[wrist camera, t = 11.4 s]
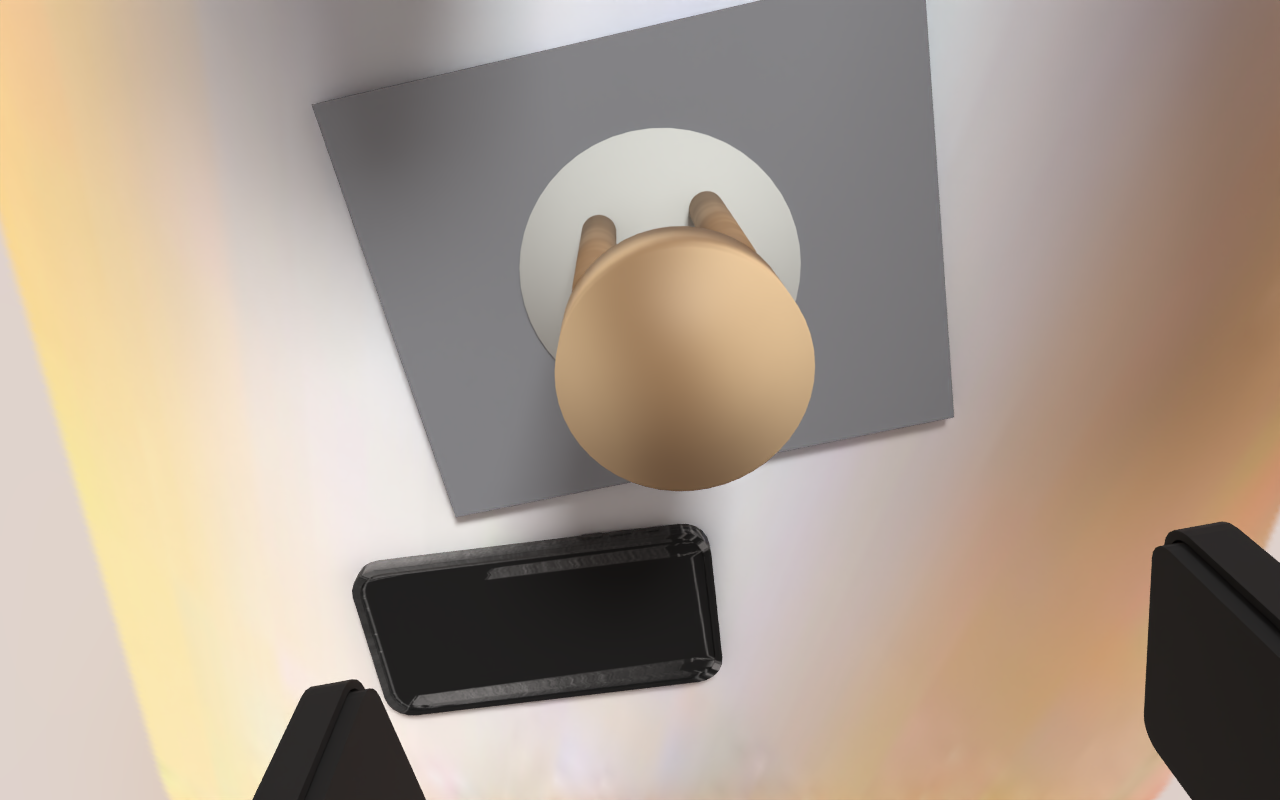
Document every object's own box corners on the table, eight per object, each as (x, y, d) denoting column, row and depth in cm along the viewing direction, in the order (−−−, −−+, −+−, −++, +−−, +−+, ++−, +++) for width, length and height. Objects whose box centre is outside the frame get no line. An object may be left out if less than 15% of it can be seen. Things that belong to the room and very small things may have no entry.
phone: (724, 678, 37) (391, 718, 37) (721, 661, 38) (397, 700, 38) (708, 527, 34) (344, 572, 34) (705, 513, 35) (352, 557, 35)
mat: (916, -36, 27) (924, -38, 26) (948, 411, 33) (955, 418, 32) (317, 103, 28) (310, 104, 27) (458, 509, 34) (455, 518, 33)
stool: (737, 162, 28) (796, 221, 19) (765, 337, 31) (829, 464, 22) (553, 203, 29) (524, 280, 19) (595, 373, 31) (588, 512, 22)
